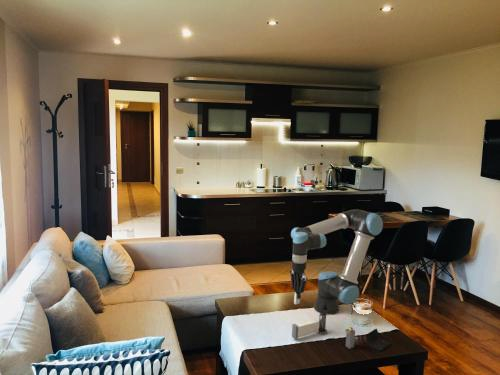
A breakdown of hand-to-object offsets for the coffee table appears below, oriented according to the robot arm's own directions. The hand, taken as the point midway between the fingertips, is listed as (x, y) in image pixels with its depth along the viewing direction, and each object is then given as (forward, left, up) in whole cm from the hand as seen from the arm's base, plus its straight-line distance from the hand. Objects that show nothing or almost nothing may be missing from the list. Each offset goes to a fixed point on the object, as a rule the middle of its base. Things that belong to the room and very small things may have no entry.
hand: (296, 303), depth 223 cm
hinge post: (+7, +12, -16) cm, 21 cm away
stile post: (+26, +15, -16) cm, 34 cm away
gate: (+8, +1, -15) cm, 16 cm away
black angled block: (+30, +30, -16) cm, 46 cm away
